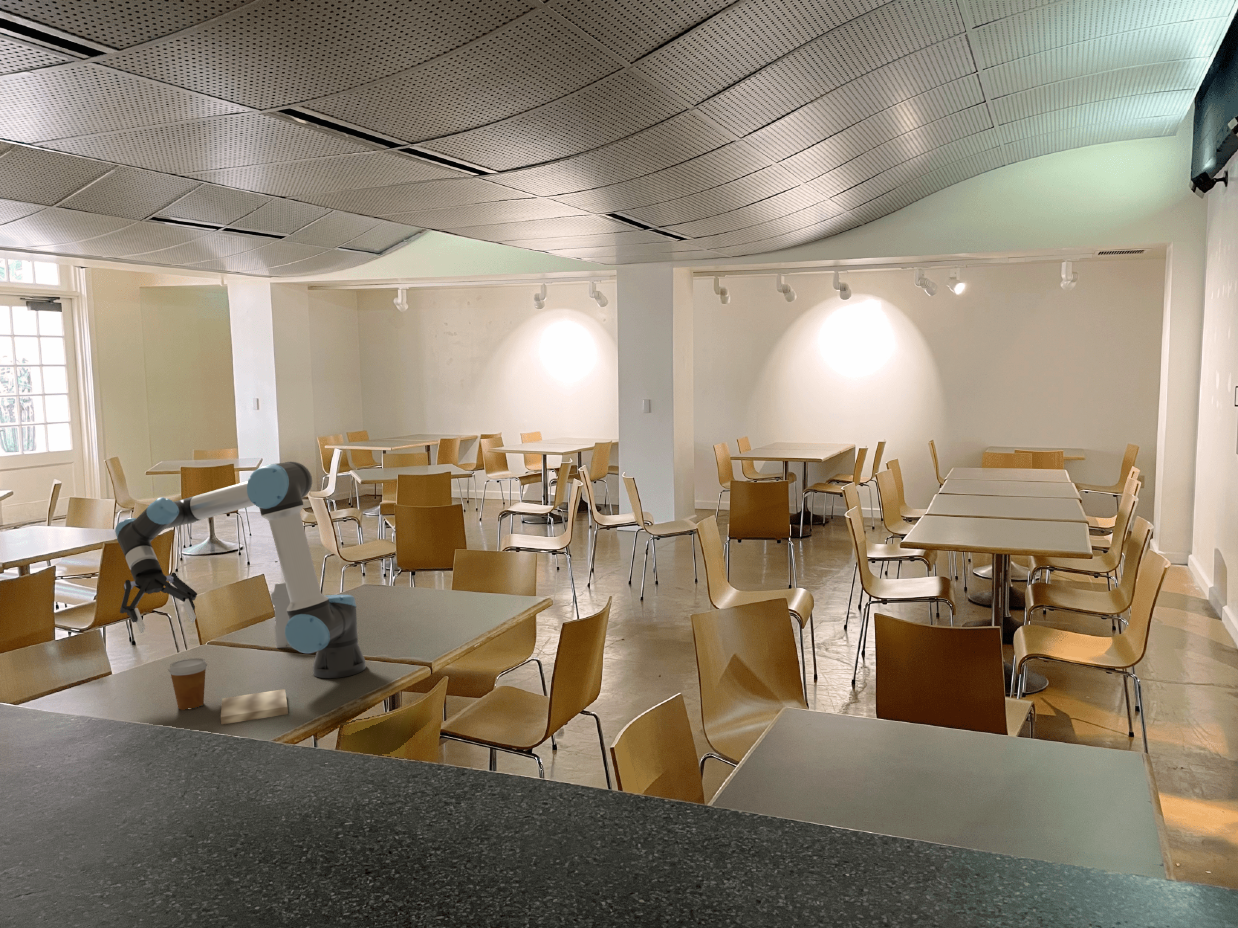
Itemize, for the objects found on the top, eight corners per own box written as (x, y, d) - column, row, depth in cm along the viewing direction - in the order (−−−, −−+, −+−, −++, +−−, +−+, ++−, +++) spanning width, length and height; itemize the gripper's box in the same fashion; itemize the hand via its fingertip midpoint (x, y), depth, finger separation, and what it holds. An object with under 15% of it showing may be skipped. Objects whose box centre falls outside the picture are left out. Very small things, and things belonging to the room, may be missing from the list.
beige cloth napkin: (285, 695, 254) (285, 688, 254) (287, 713, 239) (287, 706, 239) (222, 705, 248) (222, 698, 248) (221, 724, 233) (220, 716, 233)
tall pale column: (274, 649, 302) (269, 583, 301) (274, 646, 306) (270, 581, 305) (308, 645, 306) (303, 580, 304) (308, 642, 310) (304, 578, 308)
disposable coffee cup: (182, 714, 242) (179, 670, 241) (164, 708, 248) (161, 664, 247) (217, 703, 249) (213, 660, 248) (198, 697, 255) (195, 655, 254)
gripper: (185, 566, 274) (210, 623, 265) (94, 580, 256) (117, 642, 247) (191, 550, 270) (217, 608, 261) (99, 564, 252) (123, 626, 243)
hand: (168, 624), depth 254 cm, fingers open, 13 cm apart
